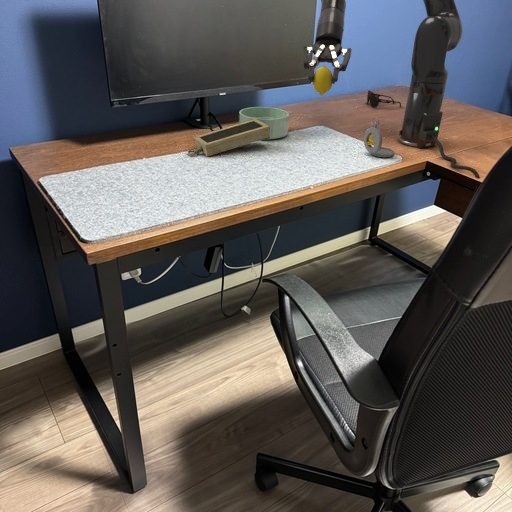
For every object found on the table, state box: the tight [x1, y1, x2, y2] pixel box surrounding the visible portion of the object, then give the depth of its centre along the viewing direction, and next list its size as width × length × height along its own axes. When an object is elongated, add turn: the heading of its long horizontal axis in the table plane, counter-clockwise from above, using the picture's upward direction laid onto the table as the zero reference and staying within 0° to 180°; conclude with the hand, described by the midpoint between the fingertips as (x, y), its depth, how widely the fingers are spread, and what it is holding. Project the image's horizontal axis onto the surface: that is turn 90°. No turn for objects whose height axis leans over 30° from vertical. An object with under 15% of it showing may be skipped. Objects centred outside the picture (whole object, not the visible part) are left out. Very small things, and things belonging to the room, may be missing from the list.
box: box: [187, 119, 270, 157], centre depth 128 cm, size 8×22×5 cm, turn 119°
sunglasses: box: [366, 90, 402, 109], centre depth 178 cm, size 11×12×5 cm
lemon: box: [312, 65, 333, 96], centre depth 137 cm, size 6×6×8 cm
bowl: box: [238, 106, 290, 141], centre depth 141 cm, size 14×14×6 cm
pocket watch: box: [363, 117, 395, 158], centre depth 127 cm, size 8×8×10 cm
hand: (322, 81), depth 135 cm, fingers closed on lemon, 5 cm apart
